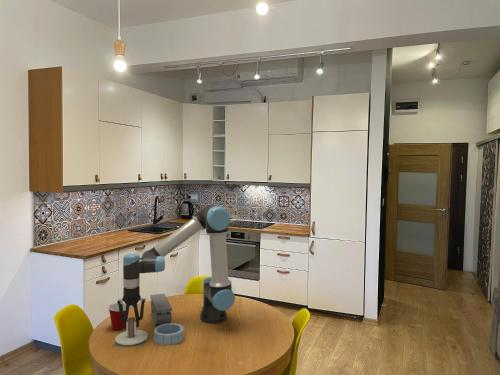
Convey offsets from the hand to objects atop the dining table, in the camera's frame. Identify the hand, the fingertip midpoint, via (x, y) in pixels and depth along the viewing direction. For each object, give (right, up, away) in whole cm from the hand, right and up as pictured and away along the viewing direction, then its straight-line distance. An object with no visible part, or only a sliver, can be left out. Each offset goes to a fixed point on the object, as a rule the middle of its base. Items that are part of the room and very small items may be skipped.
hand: (131, 334), depth 179 cm
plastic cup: (-11, -3, +13) cm, 17 cm away
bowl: (+18, -3, +2) cm, 18 cm away
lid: (0, -2, 0) cm, 2 cm away
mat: (0, -3, 0) cm, 3 cm away
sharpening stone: (+8, -3, +24) cm, 26 cm away
